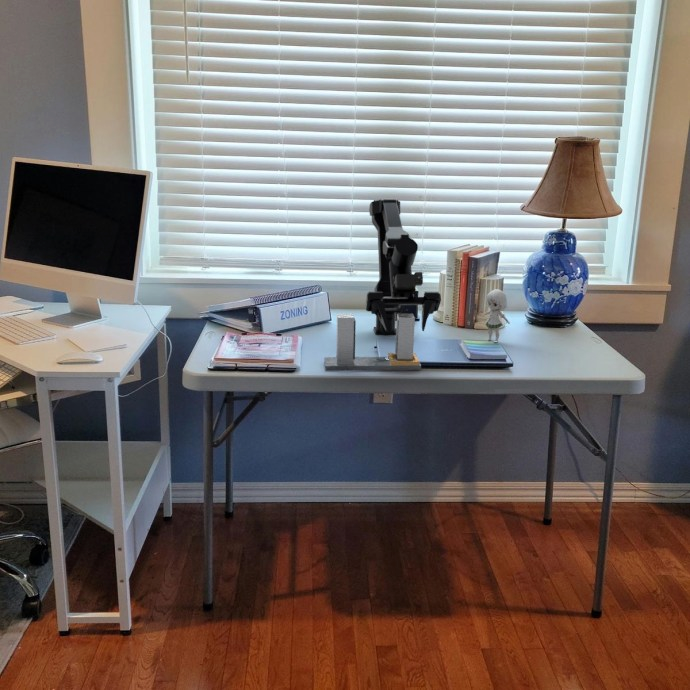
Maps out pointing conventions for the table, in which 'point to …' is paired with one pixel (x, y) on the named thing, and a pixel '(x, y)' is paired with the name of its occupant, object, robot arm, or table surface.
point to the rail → (350, 362)
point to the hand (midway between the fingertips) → (405, 330)
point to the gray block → (404, 337)
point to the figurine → (495, 311)
